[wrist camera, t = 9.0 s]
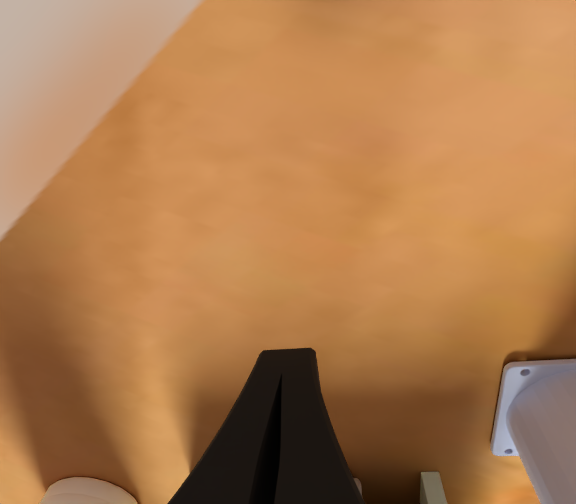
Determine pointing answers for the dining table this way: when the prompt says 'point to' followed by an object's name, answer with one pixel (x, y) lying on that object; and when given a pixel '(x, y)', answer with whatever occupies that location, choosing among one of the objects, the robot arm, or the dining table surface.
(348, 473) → the robot arm
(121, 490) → the bottle
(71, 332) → the dining table surface
